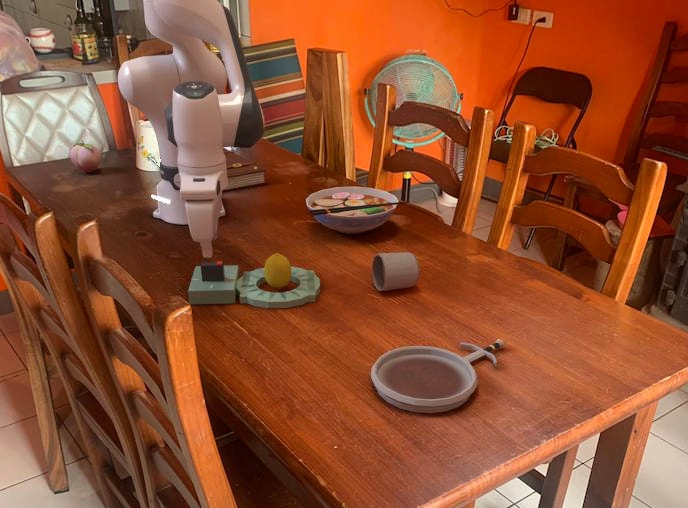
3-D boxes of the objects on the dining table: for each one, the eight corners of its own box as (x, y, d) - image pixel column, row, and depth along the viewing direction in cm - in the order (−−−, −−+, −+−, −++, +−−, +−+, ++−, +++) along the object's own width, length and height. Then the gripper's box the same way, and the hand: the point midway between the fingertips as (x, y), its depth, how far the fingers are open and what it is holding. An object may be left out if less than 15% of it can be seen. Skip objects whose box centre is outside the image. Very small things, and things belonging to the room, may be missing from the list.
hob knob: (202, 281, 136) (200, 264, 134) (203, 277, 137) (201, 261, 135) (224, 281, 136) (222, 264, 134) (224, 277, 137) (223, 260, 136)
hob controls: (197, 279, 144) (195, 265, 142) (239, 278, 144) (238, 264, 143) (189, 304, 134) (187, 290, 132) (235, 303, 134) (233, 289, 132)
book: (224, 159, 224) (222, 144, 222) (267, 183, 201) (266, 167, 199) (158, 170, 214) (156, 154, 212) (196, 197, 191) (194, 179, 189)
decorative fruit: (109, 170, 214) (104, 138, 209) (92, 177, 208) (86, 144, 202) (86, 167, 217) (80, 135, 212) (68, 174, 211) (61, 141, 206)
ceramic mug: (421, 291, 138) (423, 256, 134) (384, 297, 136) (385, 261, 132) (399, 272, 147) (401, 238, 143) (364, 277, 145) (365, 243, 141)
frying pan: (544, 355, 112) (424, 413, 97) (541, 370, 114) (422, 430, 99) (466, 317, 124) (348, 364, 109) (465, 331, 125) (348, 380, 110)
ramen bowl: (381, 209, 182) (382, 179, 177) (416, 239, 163) (418, 206, 159) (291, 219, 175) (290, 188, 171) (317, 252, 156) (316, 218, 152)
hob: (240, 273, 146) (239, 266, 146) (318, 271, 147) (318, 265, 146) (233, 309, 132) (233, 302, 131) (321, 307, 132) (321, 300, 132)
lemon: (288, 296, 137) (286, 259, 133) (261, 294, 138) (259, 257, 133) (294, 285, 141) (293, 249, 137) (269, 282, 142) (267, 247, 138)
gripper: (193, 162, 134) (201, 229, 142) (178, 193, 117) (187, 267, 124) (225, 162, 135) (231, 228, 142) (215, 193, 117) (222, 266, 124)
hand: (210, 247), depth 133 cm, fingers open, 8 cm apart
